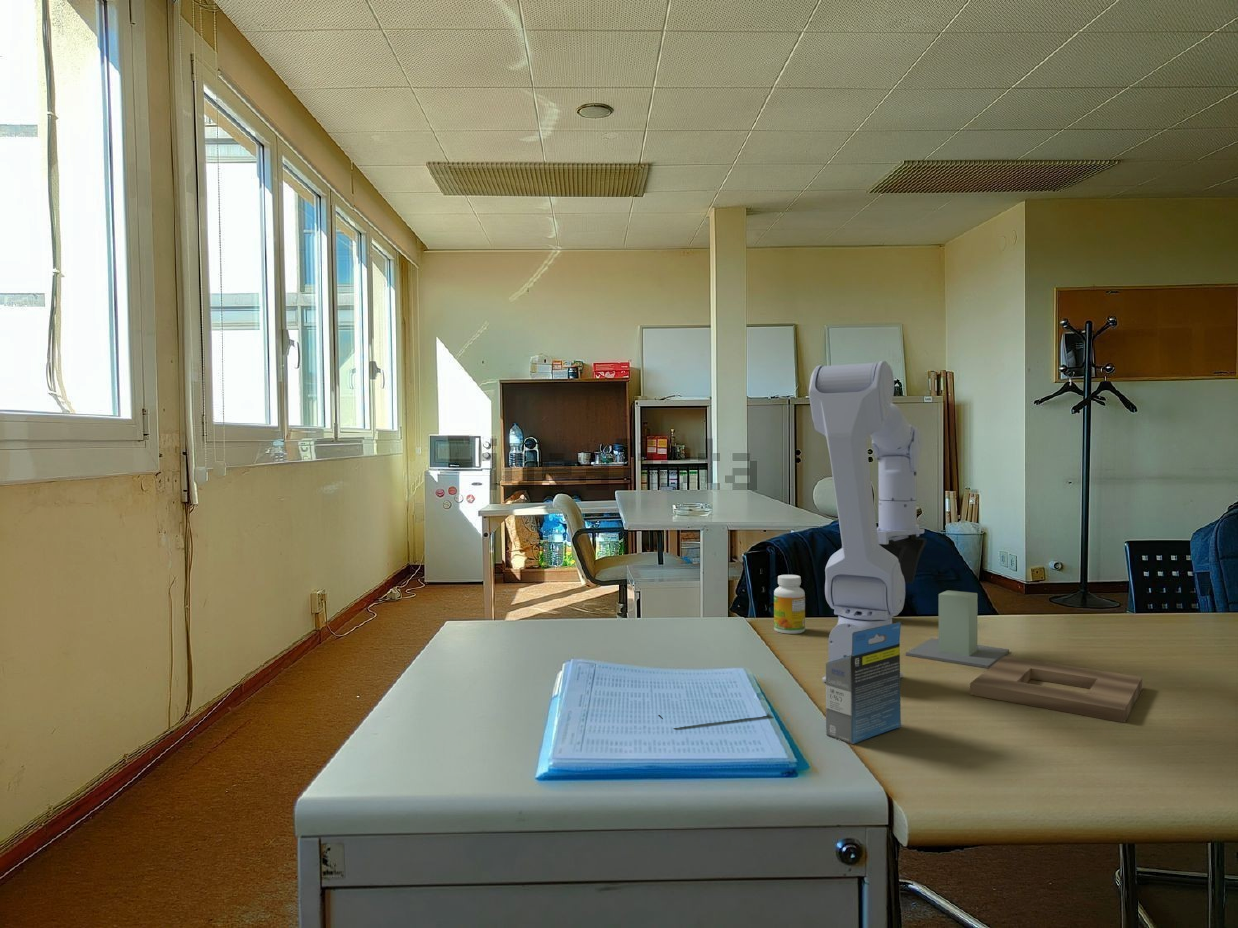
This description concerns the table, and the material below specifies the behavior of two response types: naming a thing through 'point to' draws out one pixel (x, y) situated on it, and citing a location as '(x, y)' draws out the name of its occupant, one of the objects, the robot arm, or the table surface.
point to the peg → (958, 622)
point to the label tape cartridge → (865, 687)
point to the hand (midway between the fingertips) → (897, 585)
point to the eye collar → (1103, 700)
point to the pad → (980, 658)
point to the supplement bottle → (789, 605)
